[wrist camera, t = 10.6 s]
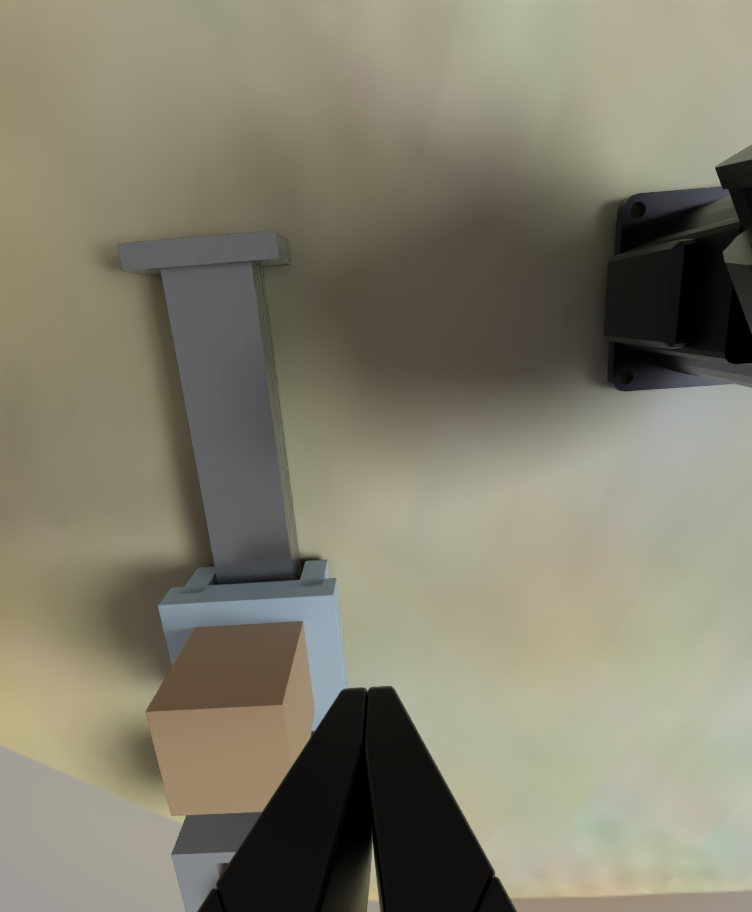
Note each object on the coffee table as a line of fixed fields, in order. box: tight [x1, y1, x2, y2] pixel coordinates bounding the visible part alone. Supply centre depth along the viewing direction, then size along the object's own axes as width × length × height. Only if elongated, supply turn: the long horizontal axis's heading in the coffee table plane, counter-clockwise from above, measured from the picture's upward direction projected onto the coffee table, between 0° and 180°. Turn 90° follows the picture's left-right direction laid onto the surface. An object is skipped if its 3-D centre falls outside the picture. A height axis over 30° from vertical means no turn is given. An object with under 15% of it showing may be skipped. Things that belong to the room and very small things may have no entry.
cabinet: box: [171, 812, 262, 912], centre depth 21 cm, size 6×4×6 cm, turn 94°
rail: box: [117, 231, 314, 738], centre depth 19 cm, size 5×20×2 cm, turn 4°
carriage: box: [146, 560, 348, 816], centre depth 18 cm, size 6×6×7 cm
